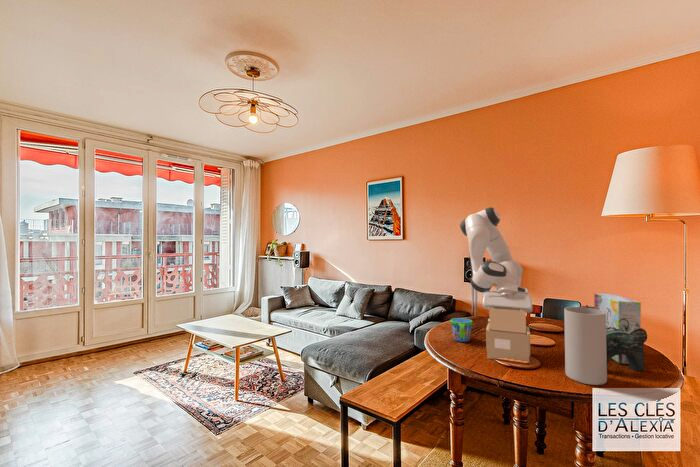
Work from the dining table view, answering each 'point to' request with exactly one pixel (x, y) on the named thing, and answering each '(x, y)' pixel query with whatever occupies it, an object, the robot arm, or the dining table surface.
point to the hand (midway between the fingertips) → (506, 318)
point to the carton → (508, 344)
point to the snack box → (618, 314)
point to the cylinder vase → (585, 345)
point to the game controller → (627, 345)
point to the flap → (507, 320)
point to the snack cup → (461, 329)
